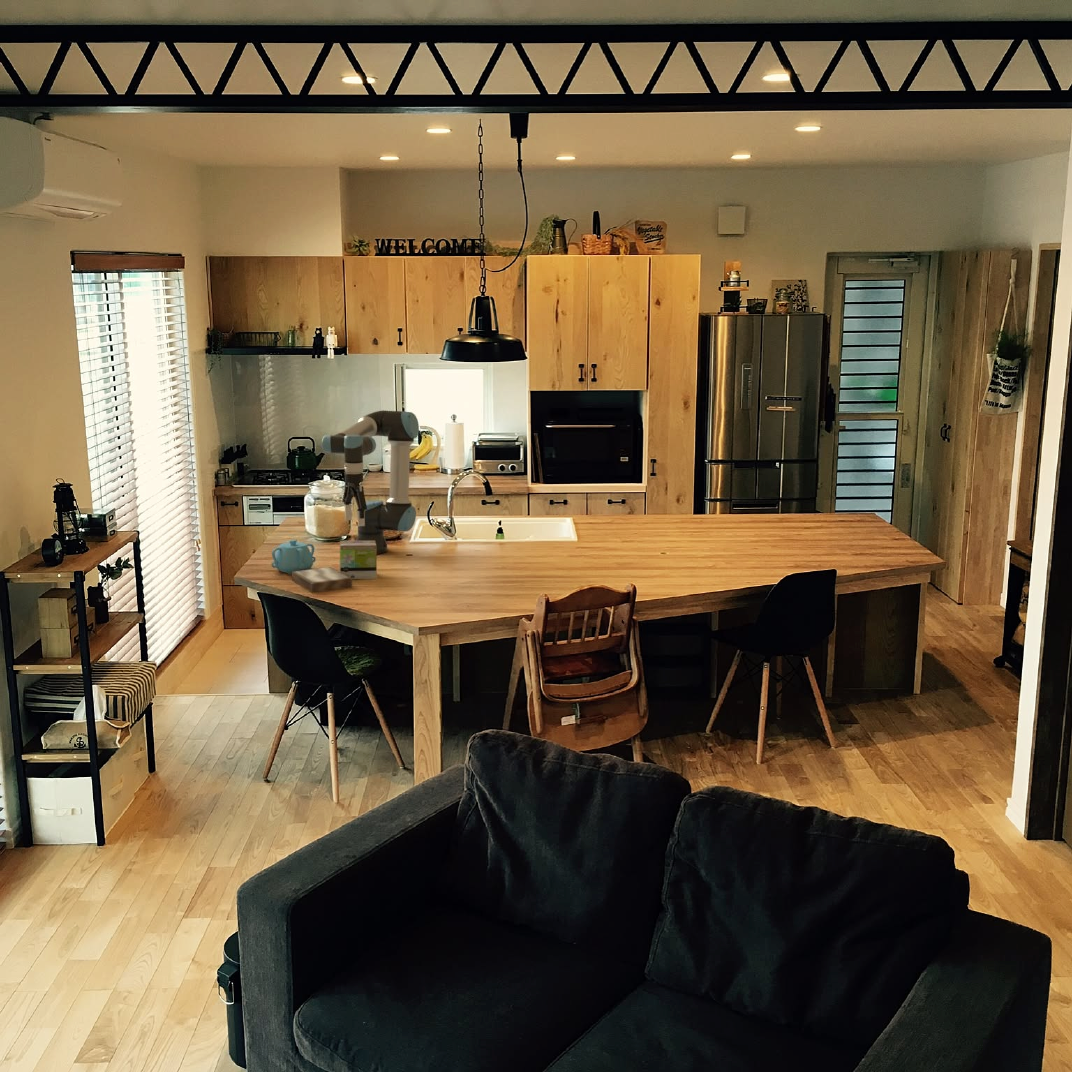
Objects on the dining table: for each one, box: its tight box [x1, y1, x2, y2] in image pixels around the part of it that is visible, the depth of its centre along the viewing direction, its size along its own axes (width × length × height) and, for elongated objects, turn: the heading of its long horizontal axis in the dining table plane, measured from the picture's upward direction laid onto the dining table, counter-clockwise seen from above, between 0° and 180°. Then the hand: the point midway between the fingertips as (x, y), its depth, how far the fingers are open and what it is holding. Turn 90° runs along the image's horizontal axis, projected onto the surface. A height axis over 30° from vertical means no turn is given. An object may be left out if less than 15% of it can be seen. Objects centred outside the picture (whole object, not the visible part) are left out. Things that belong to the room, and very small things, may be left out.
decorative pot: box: [270, 539, 316, 575], centre depth 485 cm, size 16×16×14 cm
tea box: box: [339, 540, 378, 580], centre depth 477 cm, size 15×10×15 cm
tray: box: [291, 566, 353, 594], centre depth 465 cm, size 17×22×4 cm
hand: (354, 523), depth 474 cm, fingers open, 13 cm apart
